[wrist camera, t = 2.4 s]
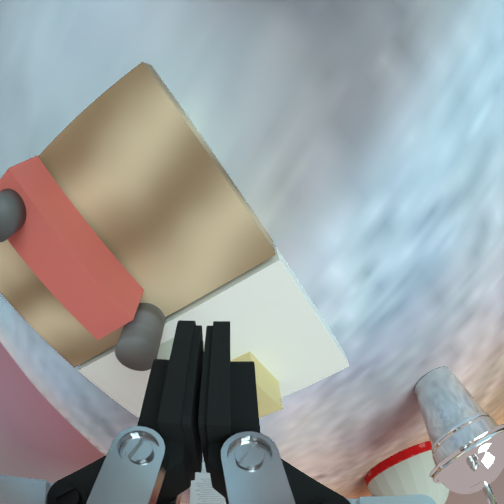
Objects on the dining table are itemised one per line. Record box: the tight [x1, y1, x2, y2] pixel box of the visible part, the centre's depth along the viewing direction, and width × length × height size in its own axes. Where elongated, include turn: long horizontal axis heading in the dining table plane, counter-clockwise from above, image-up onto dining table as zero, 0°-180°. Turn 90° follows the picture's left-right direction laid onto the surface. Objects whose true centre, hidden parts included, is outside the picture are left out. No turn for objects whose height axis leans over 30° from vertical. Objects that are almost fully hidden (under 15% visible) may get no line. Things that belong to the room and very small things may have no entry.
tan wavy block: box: [0, 62, 276, 371], centre depth 17 cm, size 13×18×5 cm
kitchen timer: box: [365, 441, 449, 504], centre depth 32 cm, size 14×14×15 cm
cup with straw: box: [414, 367, 504, 504], centre depth 19 cm, size 8×9×20 cm
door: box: [78, 246, 349, 418], centre depth 22 cm, size 11×18×4 cm, turn 122°
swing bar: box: [0, 156, 144, 340], centre depth 15 cm, size 10×3×4 cm, turn 32°
